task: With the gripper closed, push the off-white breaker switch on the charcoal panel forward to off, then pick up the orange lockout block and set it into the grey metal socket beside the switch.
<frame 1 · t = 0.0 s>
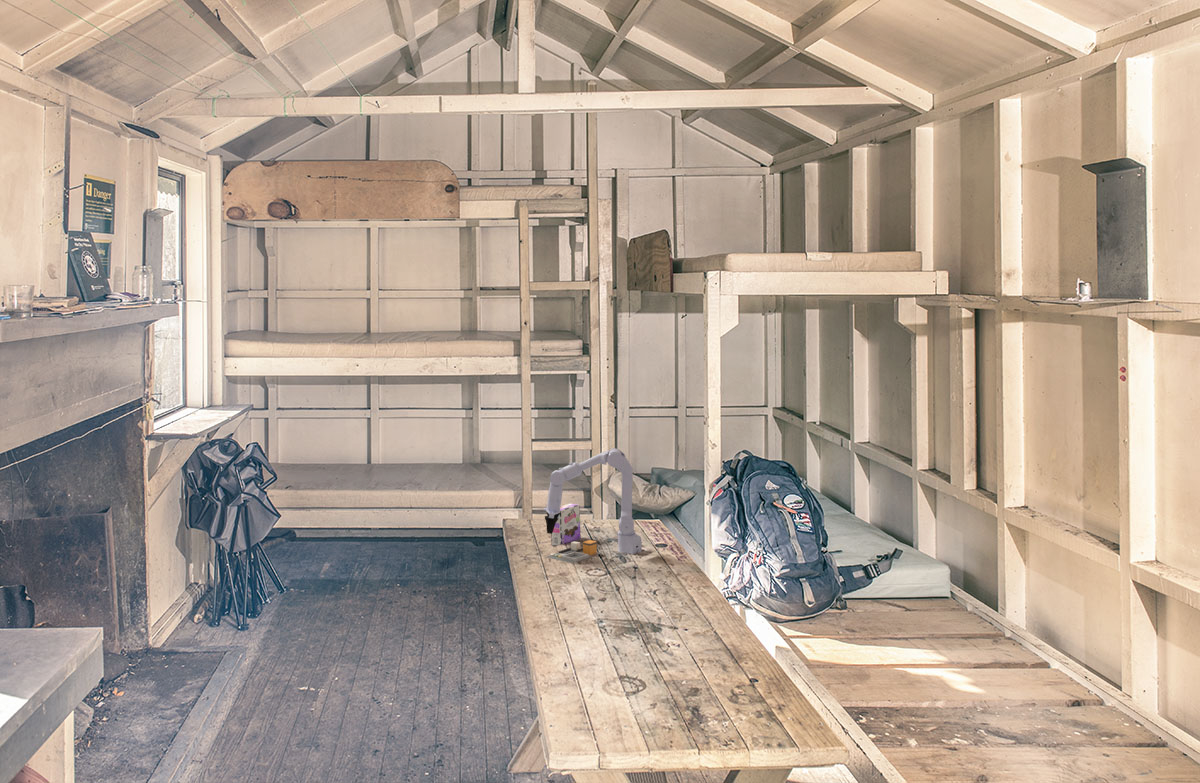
hand: (550, 531, 389), 11 cm above the table, tool pointing down, fingers open, 7 cm apart
breaker panel: (574, 558, 384), on the table
candy box: (566, 543, 409), on the table
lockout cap: (590, 553, 386), point 1 cm above the table, touching breaker panel
breaker switch: (575, 545, 391), point 3 cm above the table, slide at 0.0 cm
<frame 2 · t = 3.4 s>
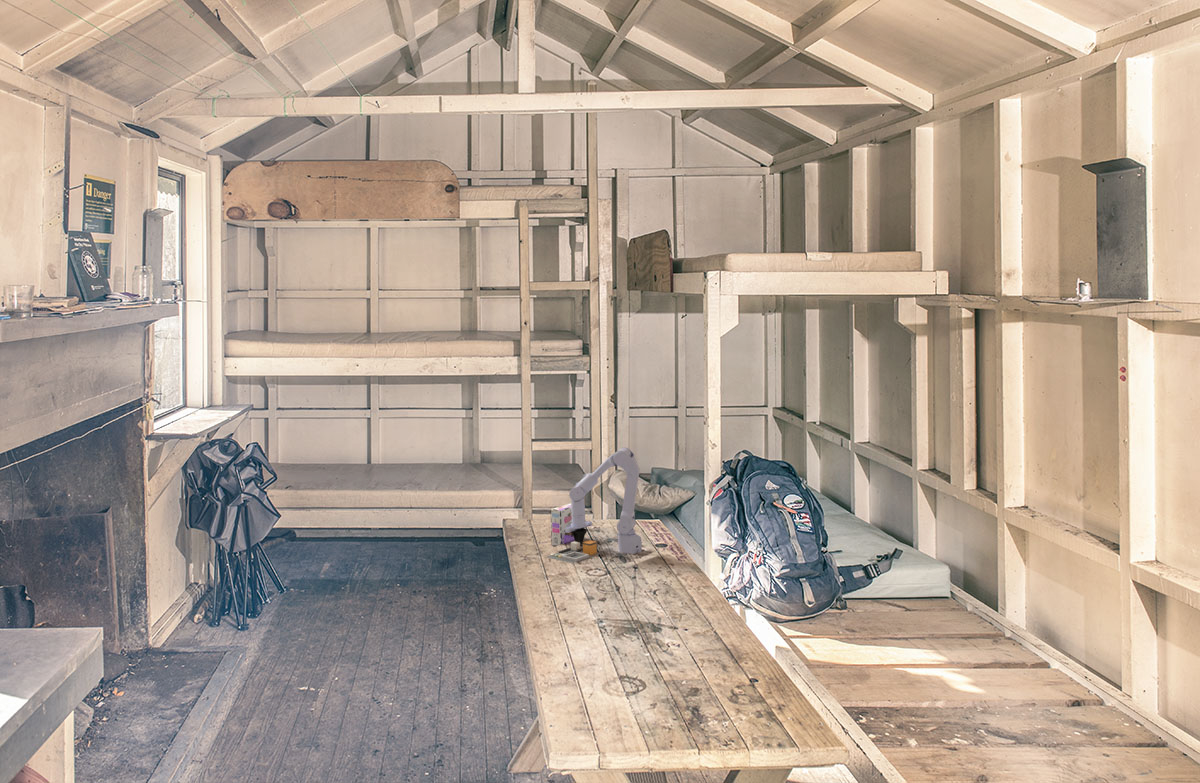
hand: (579, 546, 393), 3 cm above the table, tool pointing down, fingers closed
breaker switch: (575, 546, 391), point 3 cm above the table, slide at 0.1 cm, touching gripper
everything else where it was.
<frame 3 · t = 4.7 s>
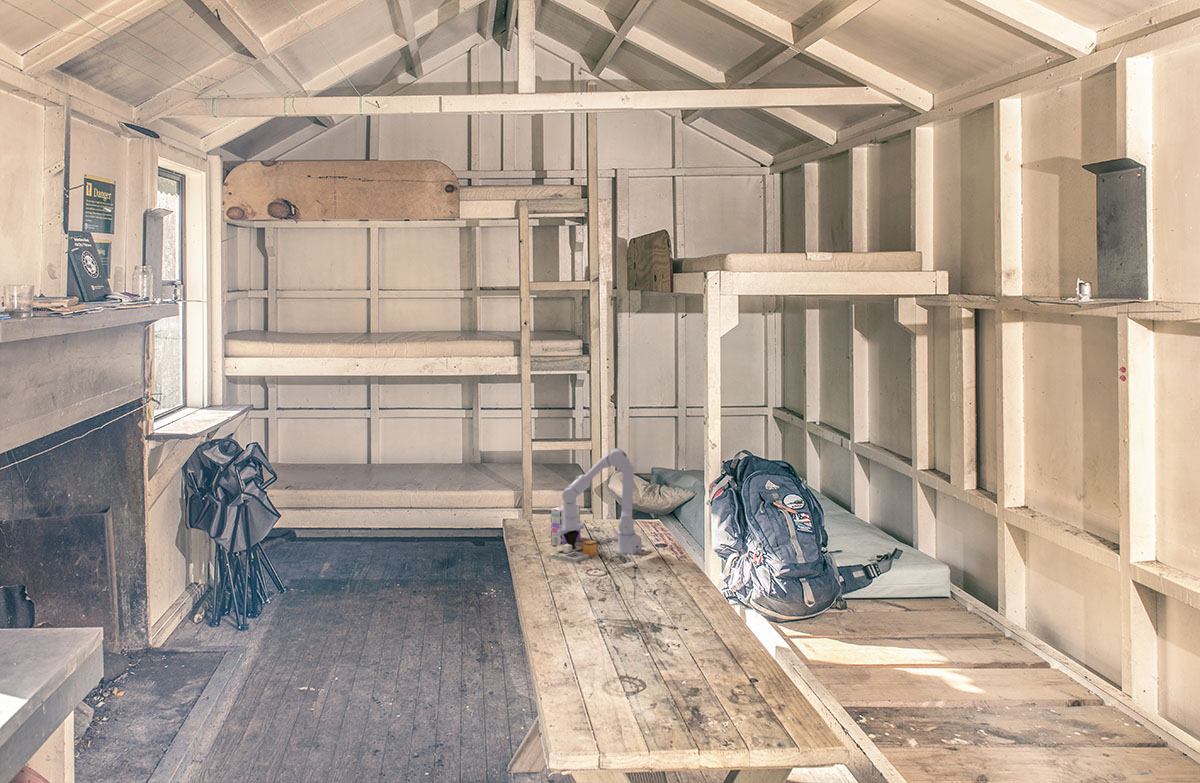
hand: (571, 548, 390), 3 cm above the table, tool pointing down, fingers closed
breaker switch: (567, 548, 388), point 3 cm above the table, slide at 5.0 cm, touching gripper
everything else where it was.
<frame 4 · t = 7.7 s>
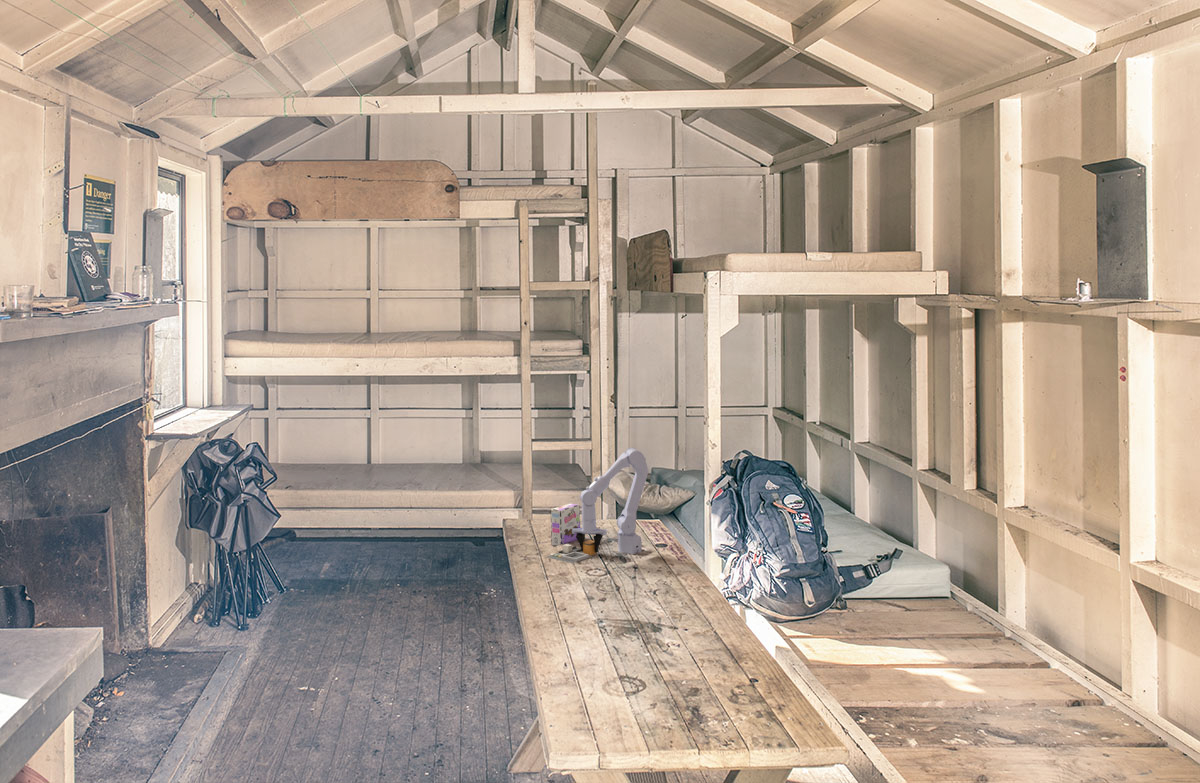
hand: (589, 551, 386), 2 cm above the table, tool pointing down, fingers closed on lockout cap, 5 cm apart
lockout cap: (590, 553, 386), point 1 cm above the table, touching breaker panel, gripper
breaker switch: (567, 548, 388), point 3 cm above the table, slide at 5.0 cm
everything else where it was.
when the fingers open (3 cm above the table, at t = 11.7 s): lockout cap drops 1 cm, resting on breaker panel.
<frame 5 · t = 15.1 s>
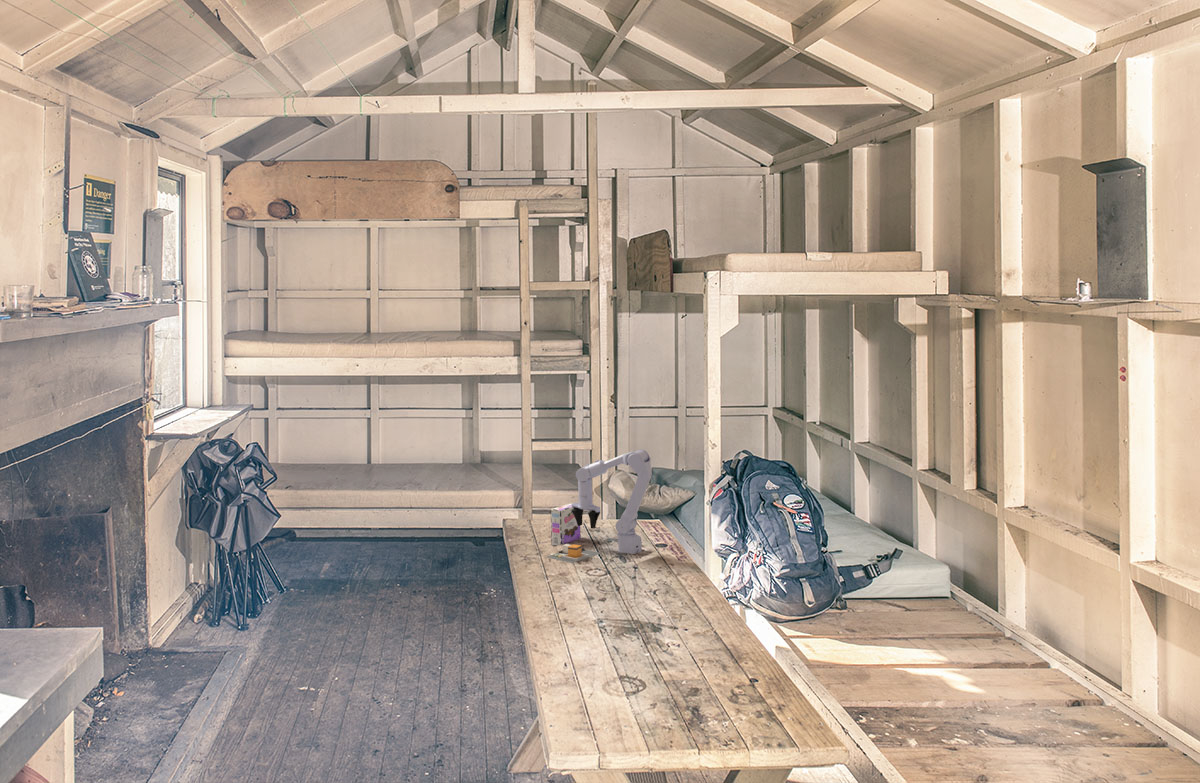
hand: (586, 526, 395), 10 cm above the table, tool pointing down, fingers open, 7 cm apart
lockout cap: (575, 558, 380), point 1 cm above the table, touching breaker panel
everything else where it was.
at the end: breaker switch slide at 5.0 cm; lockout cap 0.0 cm from the target spot on the breaker panel, point 1.5 cm above the breaker panel's base; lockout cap tilted 0° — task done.
